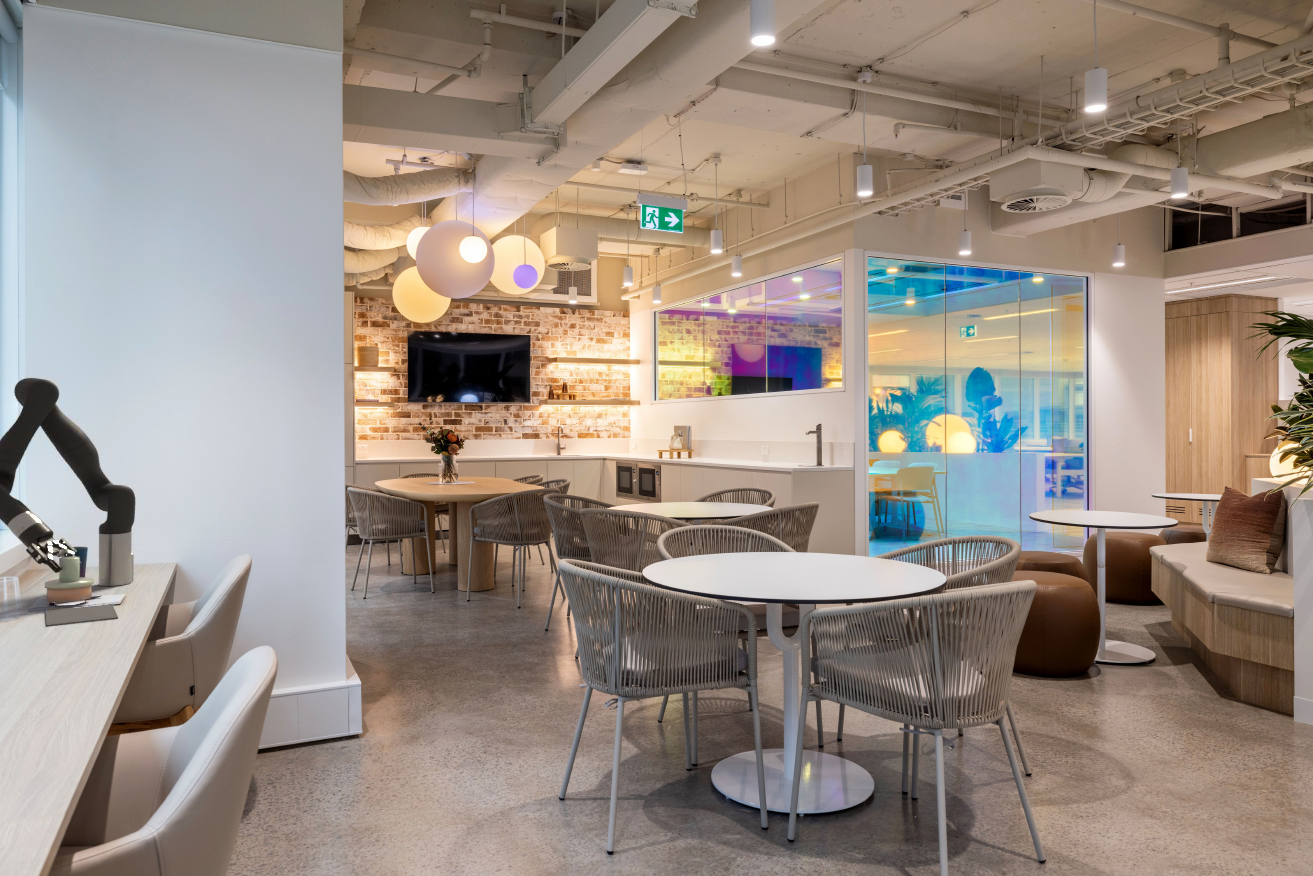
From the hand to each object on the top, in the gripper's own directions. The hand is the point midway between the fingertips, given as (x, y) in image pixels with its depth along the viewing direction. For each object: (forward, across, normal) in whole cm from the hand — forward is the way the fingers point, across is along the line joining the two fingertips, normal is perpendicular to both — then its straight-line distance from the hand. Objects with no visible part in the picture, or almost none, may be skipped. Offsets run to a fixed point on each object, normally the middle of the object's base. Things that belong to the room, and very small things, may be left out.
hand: (69, 568), depth 248 cm
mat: (+16, -14, -2) cm, 22 cm away
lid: (+4, 0, +4) cm, 5 cm away
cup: (+4, +10, +11) cm, 16 cm away
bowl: (+7, 0, +8) cm, 11 cm away
